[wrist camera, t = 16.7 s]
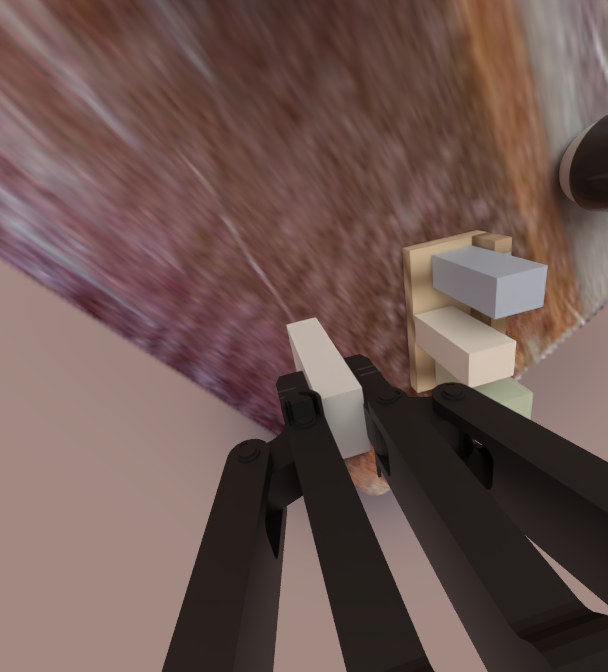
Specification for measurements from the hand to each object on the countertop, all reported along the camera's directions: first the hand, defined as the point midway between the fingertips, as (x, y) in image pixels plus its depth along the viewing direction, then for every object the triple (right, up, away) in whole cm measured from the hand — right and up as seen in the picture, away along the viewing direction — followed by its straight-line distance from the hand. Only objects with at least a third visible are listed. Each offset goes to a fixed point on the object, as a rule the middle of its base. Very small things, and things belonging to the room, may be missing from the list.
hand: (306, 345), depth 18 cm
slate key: (+18, +9, +25) cm, 31 cm away
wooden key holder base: (+18, +3, +30) cm, 35 cm away
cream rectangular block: (+16, +2, +27) cm, 32 cm away
